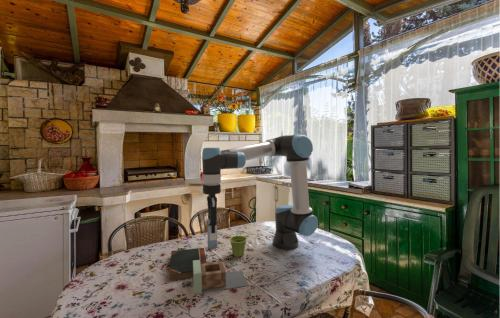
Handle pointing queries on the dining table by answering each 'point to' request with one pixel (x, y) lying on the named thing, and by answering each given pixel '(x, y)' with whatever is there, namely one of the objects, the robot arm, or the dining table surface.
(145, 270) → the dining table surface
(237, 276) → the runner mat
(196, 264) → the wall
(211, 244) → the dowel
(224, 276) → the socket block
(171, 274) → the book
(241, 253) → the plant pot
